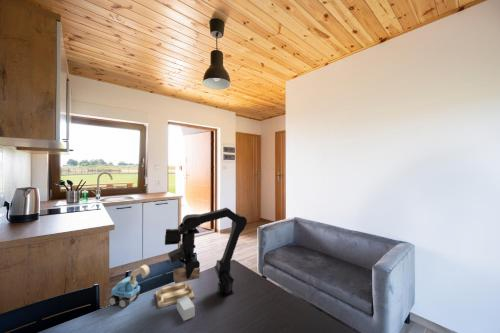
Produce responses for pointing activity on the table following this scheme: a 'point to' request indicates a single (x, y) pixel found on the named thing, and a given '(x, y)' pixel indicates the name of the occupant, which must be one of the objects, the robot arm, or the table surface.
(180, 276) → the tan rectangular bar
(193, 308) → the light grey rectangular block
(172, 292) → the jig
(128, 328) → the table surface
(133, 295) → the toy excavator
